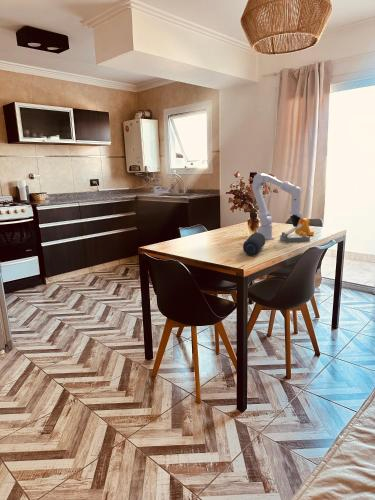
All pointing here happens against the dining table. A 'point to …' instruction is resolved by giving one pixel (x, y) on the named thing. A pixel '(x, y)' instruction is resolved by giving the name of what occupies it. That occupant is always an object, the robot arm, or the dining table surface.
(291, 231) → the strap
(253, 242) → the portable speaker
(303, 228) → the orange animal figurine
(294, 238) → the base block
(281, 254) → the dining table surface
